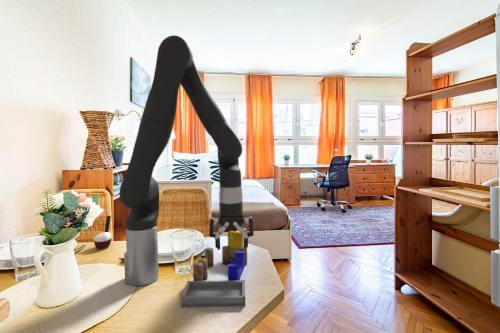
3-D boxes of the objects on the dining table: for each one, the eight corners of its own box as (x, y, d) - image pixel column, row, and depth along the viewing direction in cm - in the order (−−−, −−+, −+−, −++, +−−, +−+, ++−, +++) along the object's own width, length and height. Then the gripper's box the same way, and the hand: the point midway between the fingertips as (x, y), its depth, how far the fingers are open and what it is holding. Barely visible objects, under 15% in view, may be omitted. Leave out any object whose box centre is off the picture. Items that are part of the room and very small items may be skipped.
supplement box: (232, 253, 108) (232, 226, 107) (247, 255, 106) (247, 227, 105) (227, 259, 102) (227, 231, 101) (242, 261, 100) (242, 232, 99)
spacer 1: (192, 285, 84) (192, 266, 83) (194, 280, 86) (194, 262, 86) (202, 285, 84) (202, 266, 83) (203, 280, 87) (203, 262, 86)
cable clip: (231, 266, 97) (231, 250, 96) (244, 267, 96) (244, 251, 95) (223, 284, 85) (223, 265, 84) (237, 285, 84) (237, 266, 83)
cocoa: (98, 253, 108) (96, 224, 107) (88, 250, 111) (86, 221, 109) (119, 244, 117) (117, 217, 115) (109, 241, 120) (108, 215, 118)
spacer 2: (197, 280, 87) (197, 262, 86) (198, 275, 90) (198, 258, 89) (207, 280, 87) (206, 262, 86) (208, 275, 90) (207, 258, 89)
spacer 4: (221, 265, 97) (221, 249, 97) (222, 261, 100) (222, 245, 100) (230, 265, 97) (230, 248, 97) (230, 261, 100) (230, 245, 100)
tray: (181, 307, 73) (181, 298, 72) (188, 289, 81) (187, 281, 81) (245, 306, 73) (245, 297, 73) (244, 288, 82) (244, 280, 82)
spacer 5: (238, 265, 97) (238, 249, 96) (238, 262, 100) (238, 246, 99) (247, 265, 97) (247, 249, 96) (247, 262, 100) (247, 246, 99)
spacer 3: (204, 267, 96) (204, 250, 95) (205, 263, 98) (205, 247, 98) (213, 267, 96) (212, 250, 95) (213, 263, 99) (213, 247, 98)
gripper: (207, 203, 84) (208, 254, 85) (253, 202, 84) (254, 252, 86) (210, 198, 91) (211, 245, 93) (252, 197, 92) (253, 244, 93)
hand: (232, 248), depth 89 cm, fingers open, 8 cm apart
